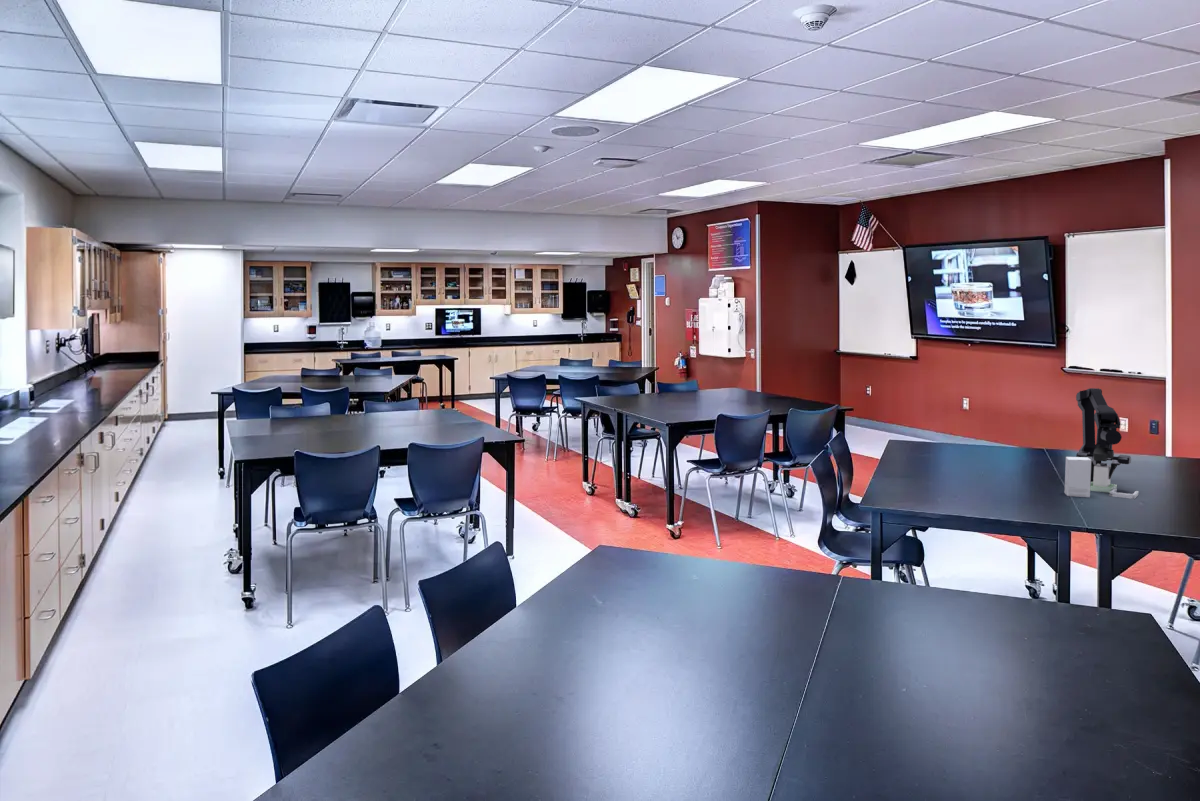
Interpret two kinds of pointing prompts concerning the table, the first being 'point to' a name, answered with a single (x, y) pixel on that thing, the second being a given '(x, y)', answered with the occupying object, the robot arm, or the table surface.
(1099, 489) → the tray
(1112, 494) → the dock
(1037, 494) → the table surface
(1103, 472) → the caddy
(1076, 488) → the skincare box
